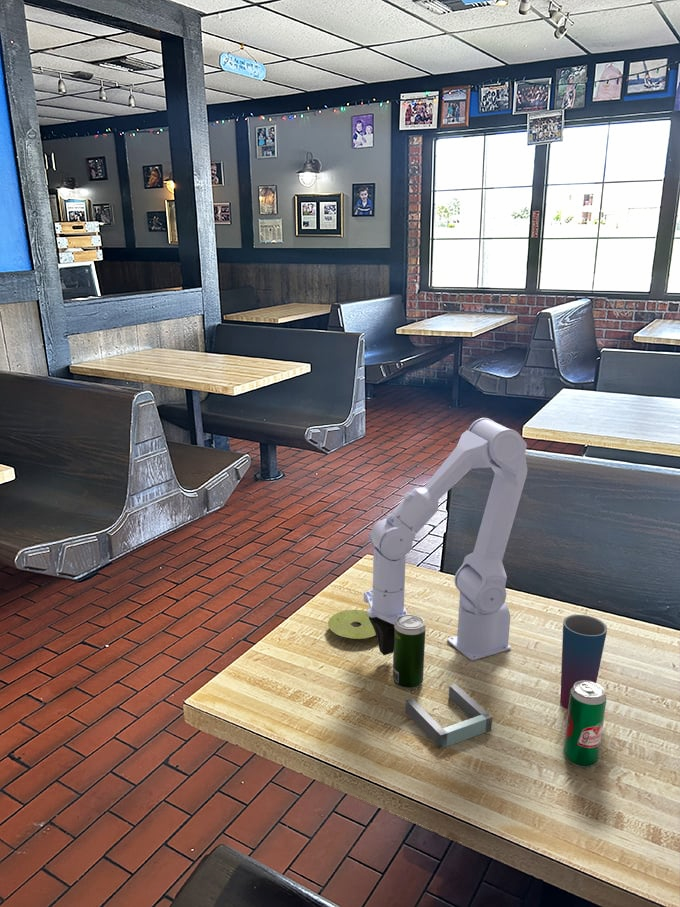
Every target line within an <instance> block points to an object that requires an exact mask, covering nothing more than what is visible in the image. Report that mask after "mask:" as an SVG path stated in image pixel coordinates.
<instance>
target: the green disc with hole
mask: <svg viewBox="0 0 680 907" xmlns="http://www.w3.org/2000/svg"><path fill="white" fill-rule="evenodd" d="M327 625H328V628H329V629H330V631H331V632H333V633H334V634H335V635H337V636H340V637H344V638H348V639H351V640H352V639H354V640H356V639H358V640H361V639H369V638H372V637H374V636H375V637H376V633H375V630H374V628H373V626H372V624H371V622H370V620H369V615H368V614H367V610H362V609H348V610H342V611H338V612H336V613H335V614H333V615H332V616H331V617H329V619H328V622H327Z"/></svg>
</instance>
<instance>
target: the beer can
mask: <svg viewBox="0 0 680 907" xmlns="http://www.w3.org/2000/svg"><path fill="white" fill-rule="evenodd" d="M426 630H427V629H426V626H425V620H424V619H423V618H422V617H421V616H418V615H415V614H408V613H407V615H401V616H399V617H398V618H397V619H396V623H395V625H394V648H393V653H392V682H393V683H394V685H395V686H396V687H397V688H398V689H400V690H404V691H415V690H416V689H419V688H420V687H421V686H422V684H423V682H424V670H425V668H424V666H425V650H426V648H425V646H426Z"/></svg>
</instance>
